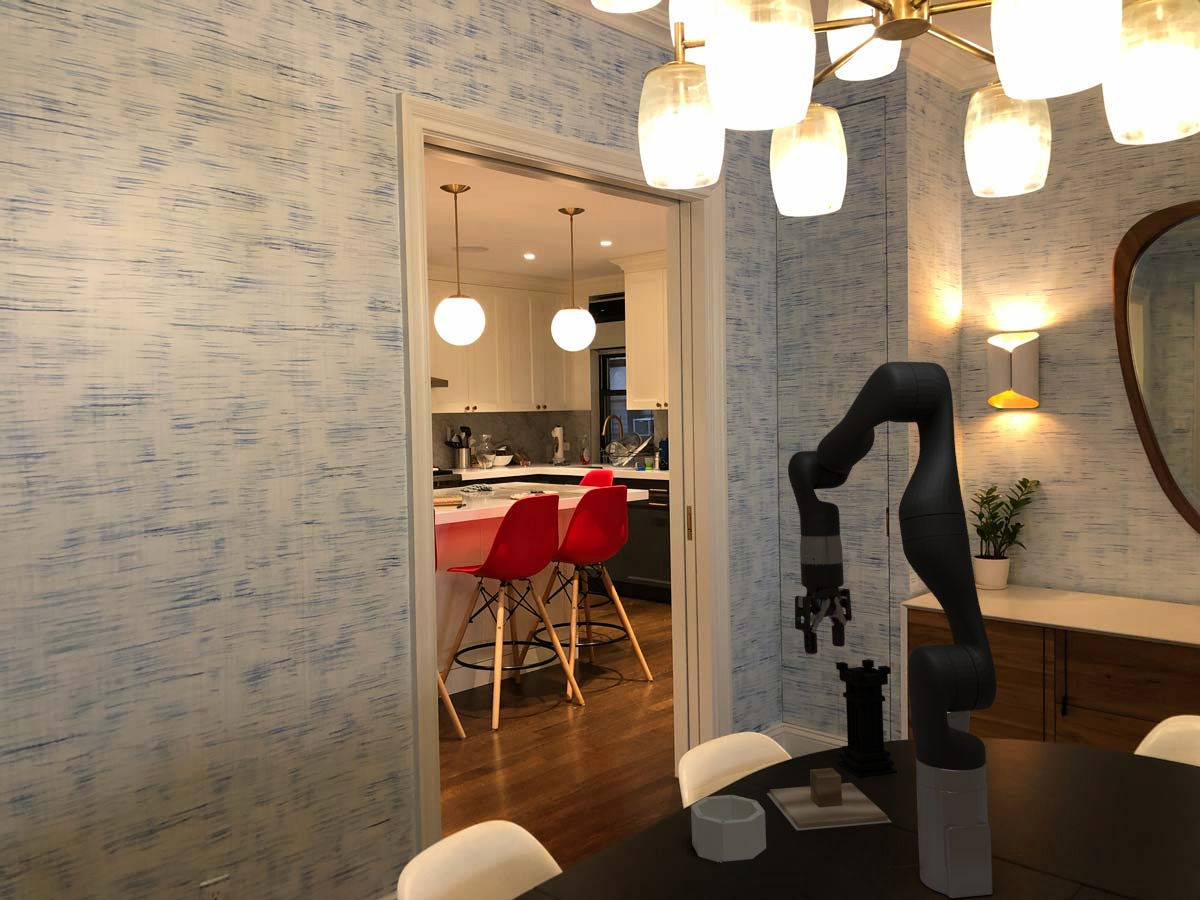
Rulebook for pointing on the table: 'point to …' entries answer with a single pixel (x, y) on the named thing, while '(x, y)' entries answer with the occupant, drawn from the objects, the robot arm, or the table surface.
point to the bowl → (728, 828)
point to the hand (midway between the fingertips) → (825, 649)
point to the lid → (827, 802)
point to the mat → (818, 827)
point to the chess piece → (865, 720)
